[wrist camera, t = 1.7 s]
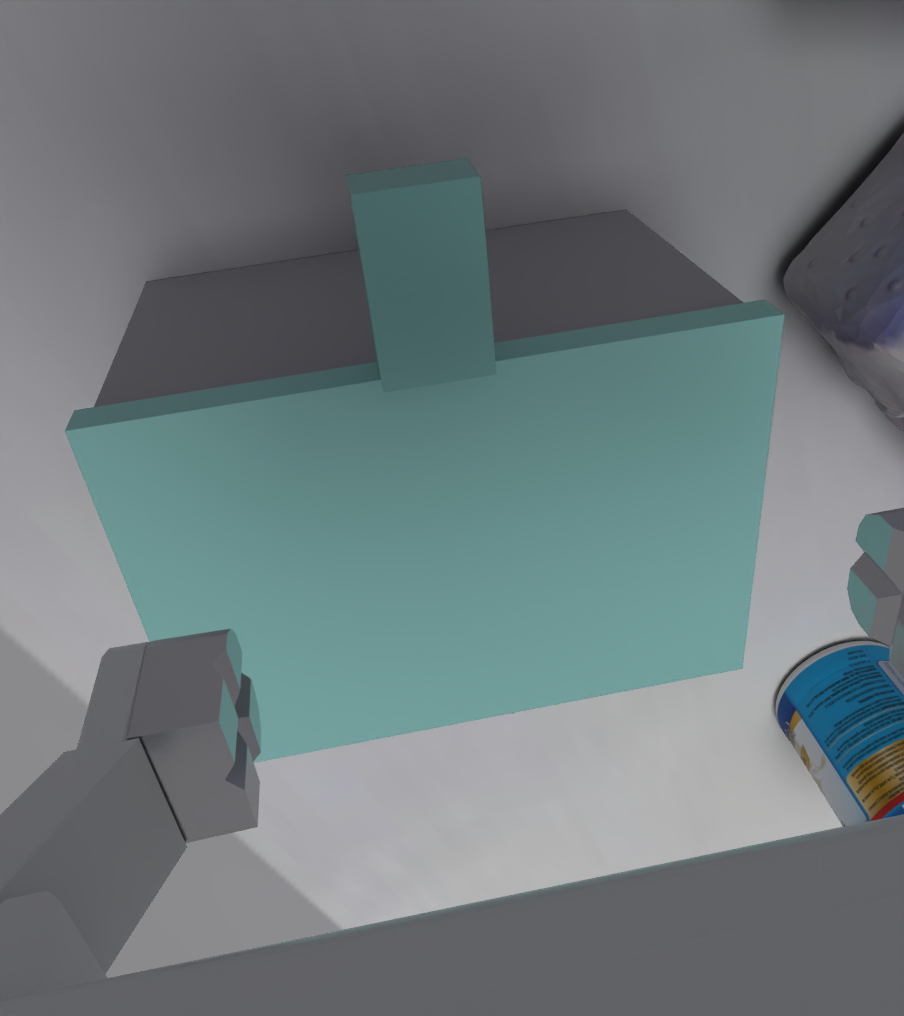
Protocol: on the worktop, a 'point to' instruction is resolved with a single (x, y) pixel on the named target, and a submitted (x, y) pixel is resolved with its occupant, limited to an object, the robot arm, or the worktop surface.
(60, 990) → the robot arm
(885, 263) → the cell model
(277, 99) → the worktop surface
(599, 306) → the tub
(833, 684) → the beverage bottle
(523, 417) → the lid
